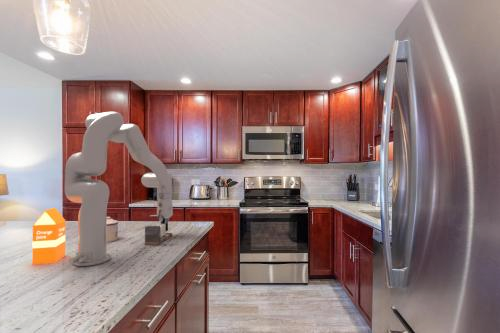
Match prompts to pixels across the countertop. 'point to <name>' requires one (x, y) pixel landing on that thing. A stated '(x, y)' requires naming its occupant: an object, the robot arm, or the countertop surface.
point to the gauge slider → (161, 229)
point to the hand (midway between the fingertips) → (164, 230)
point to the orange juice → (49, 237)
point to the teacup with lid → (112, 230)
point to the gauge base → (154, 235)
